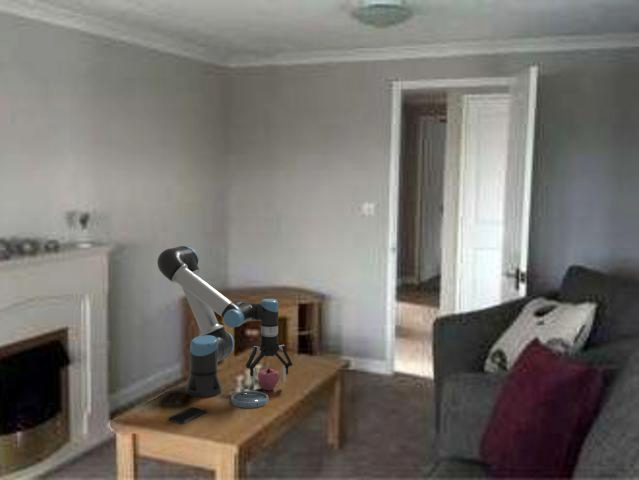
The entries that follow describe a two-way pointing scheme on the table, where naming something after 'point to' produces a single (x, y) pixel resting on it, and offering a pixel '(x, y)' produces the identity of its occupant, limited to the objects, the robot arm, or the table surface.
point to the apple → (268, 378)
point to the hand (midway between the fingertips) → (269, 382)
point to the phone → (187, 415)
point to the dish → (250, 399)
